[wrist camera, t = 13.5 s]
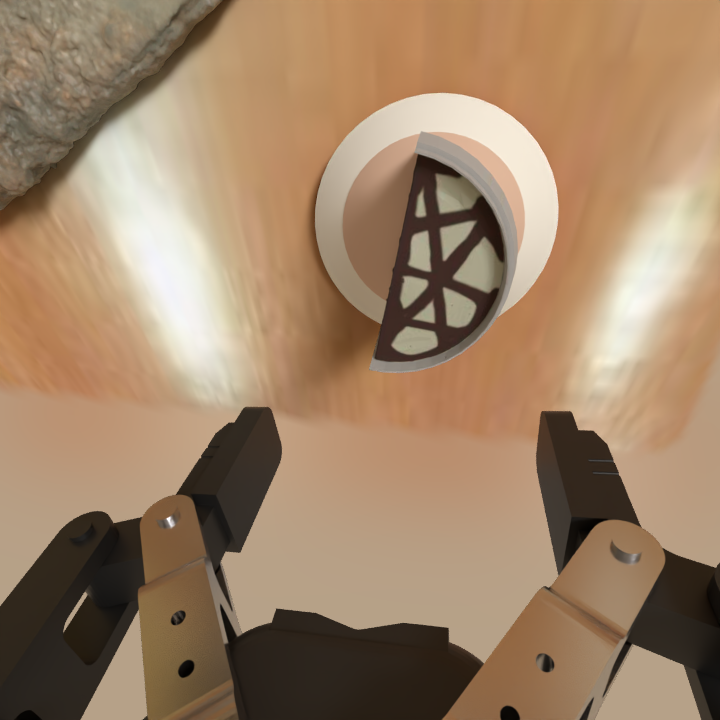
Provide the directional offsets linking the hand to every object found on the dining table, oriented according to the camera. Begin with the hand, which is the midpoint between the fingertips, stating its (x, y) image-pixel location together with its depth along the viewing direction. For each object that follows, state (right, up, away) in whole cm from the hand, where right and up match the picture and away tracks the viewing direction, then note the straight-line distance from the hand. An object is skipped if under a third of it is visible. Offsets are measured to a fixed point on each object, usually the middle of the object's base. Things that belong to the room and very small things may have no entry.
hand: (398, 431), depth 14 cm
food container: (+5, +11, +17) cm, 20 cm away
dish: (+4, +11, +18) cm, 22 cm away
